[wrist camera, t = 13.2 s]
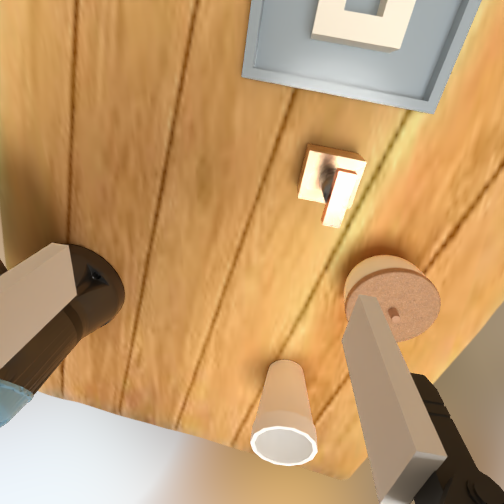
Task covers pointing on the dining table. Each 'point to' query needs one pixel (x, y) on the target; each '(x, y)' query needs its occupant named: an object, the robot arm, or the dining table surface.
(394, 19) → the slotted frame
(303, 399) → the foam cup
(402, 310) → the lidded jar
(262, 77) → the tray
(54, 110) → the dining table surface
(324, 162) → the t-stake
